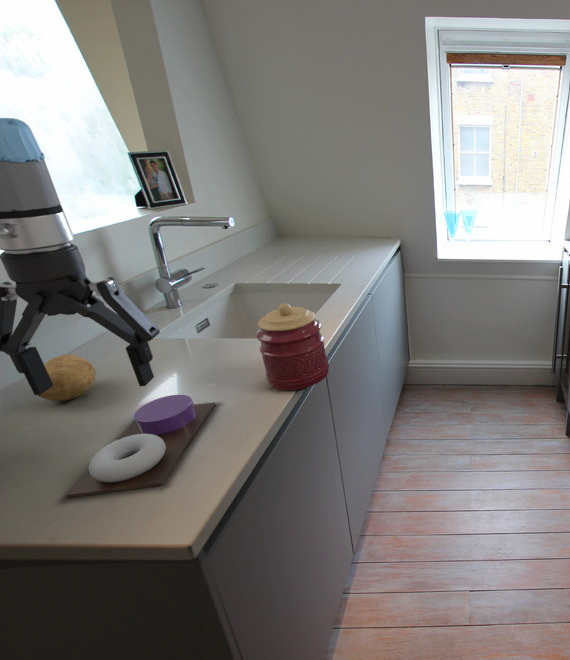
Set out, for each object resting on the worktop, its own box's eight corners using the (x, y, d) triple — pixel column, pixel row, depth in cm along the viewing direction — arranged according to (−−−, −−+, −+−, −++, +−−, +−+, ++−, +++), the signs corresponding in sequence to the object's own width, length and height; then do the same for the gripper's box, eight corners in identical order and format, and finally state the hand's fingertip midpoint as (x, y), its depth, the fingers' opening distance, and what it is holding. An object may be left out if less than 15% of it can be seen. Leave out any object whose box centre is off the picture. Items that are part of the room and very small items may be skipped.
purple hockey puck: (129, 438, 80) (123, 424, 78) (154, 409, 88) (149, 397, 86) (184, 432, 81) (179, 418, 80) (204, 405, 89) (200, 392, 88)
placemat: (66, 498, 67) (65, 495, 67) (144, 412, 88) (143, 409, 88) (161, 485, 70) (160, 482, 69) (216, 404, 90) (215, 402, 90)
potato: (101, 374, 102) (88, 343, 99) (103, 400, 92) (88, 366, 89) (43, 389, 96) (27, 356, 93) (38, 418, 86) (20, 382, 83)
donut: (157, 479, 70) (176, 440, 79) (150, 462, 69) (170, 424, 77) (81, 494, 67) (109, 452, 76) (71, 477, 66) (101, 435, 75)
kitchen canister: (328, 386, 96) (314, 311, 89) (263, 396, 93) (243, 318, 86) (330, 359, 108) (318, 291, 100) (273, 367, 104) (255, 296, 97)
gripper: (-108, 258, 53) (-23, 408, 61) (129, 250, 57) (177, 390, 66) (-50, 244, 59) (18, 380, 68) (158, 237, 64) (197, 366, 73)
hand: (96, 386), depth 67 cm, fingers open, 13 cm apart
